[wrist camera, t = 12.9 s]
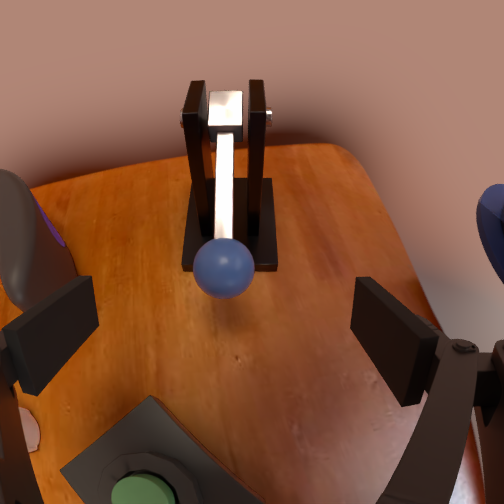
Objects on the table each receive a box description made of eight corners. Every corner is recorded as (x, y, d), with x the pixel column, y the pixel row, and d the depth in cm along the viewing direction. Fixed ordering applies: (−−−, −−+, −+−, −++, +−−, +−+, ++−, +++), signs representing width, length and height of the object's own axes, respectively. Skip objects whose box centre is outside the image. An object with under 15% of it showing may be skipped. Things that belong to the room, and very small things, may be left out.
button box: (264, 499, 18) (268, 511, 14) (169, 570, 14) (157, 589, 10) (158, 398, 22) (142, 390, 18) (72, 469, 18) (46, 470, 14)
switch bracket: (276, 271, 28) (298, 141, 16) (183, 271, 28) (146, 144, 16) (271, 185, 33) (281, 64, 22) (193, 186, 33) (176, 66, 21)
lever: (253, 298, 21) (255, 299, 17) (197, 298, 21) (188, 299, 17) (252, 112, 22) (254, 84, 19) (203, 113, 22) (197, 85, 19)
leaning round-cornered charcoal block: (106, 319, 25) (53, 261, 17) (65, 347, 23) (1, 300, 15) (51, 208, 31) (16, 146, 23) (21, 229, 30) (-20, 172, 22)
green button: (187, 503, 15) (182, 509, 13) (148, 532, 13) (140, 538, 12) (147, 463, 16) (138, 465, 15) (110, 492, 15) (99, 495, 13)
